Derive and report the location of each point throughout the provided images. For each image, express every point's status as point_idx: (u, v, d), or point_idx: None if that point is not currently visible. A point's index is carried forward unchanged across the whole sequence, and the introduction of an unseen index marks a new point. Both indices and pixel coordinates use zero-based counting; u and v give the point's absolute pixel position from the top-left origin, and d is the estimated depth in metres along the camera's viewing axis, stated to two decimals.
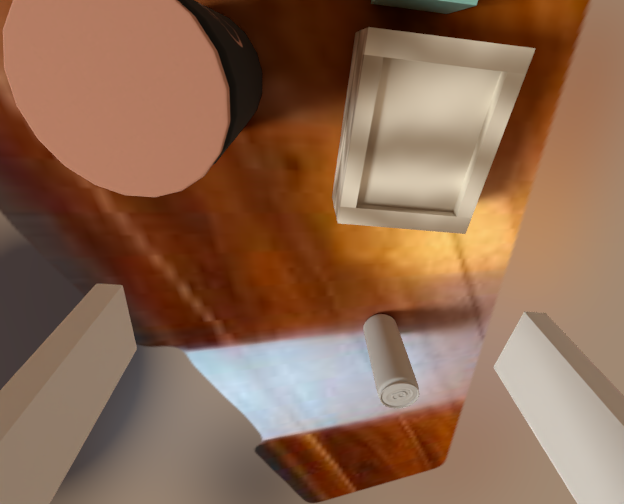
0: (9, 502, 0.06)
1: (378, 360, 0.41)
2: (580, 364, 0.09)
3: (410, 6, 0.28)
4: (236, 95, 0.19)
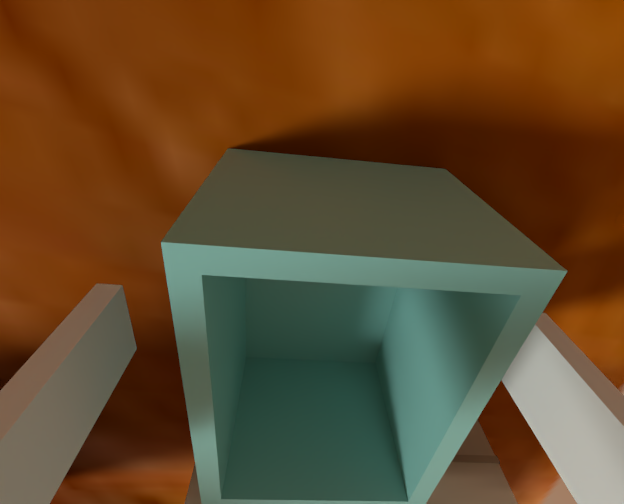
0: (9, 502, 0.06)
1: None
2: (580, 364, 0.09)
3: None
4: None
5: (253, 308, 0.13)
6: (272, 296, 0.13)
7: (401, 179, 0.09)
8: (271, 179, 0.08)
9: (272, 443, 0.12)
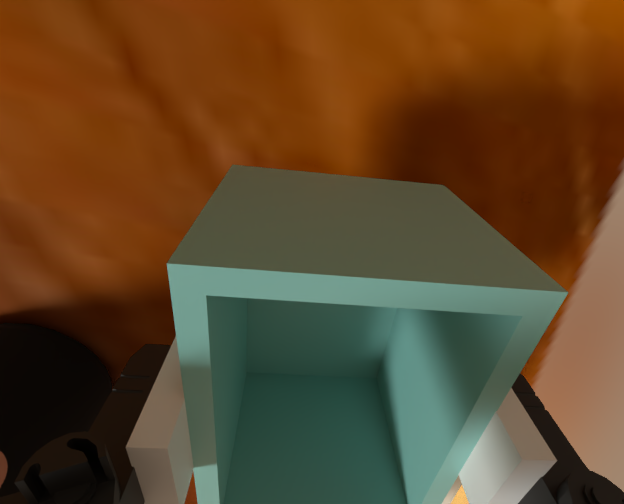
0: None
1: None
2: None
3: None
4: None
5: (254, 323, 0.13)
6: (273, 311, 0.13)
7: (402, 197, 0.10)
8: (274, 198, 0.08)
9: (272, 461, 0.11)
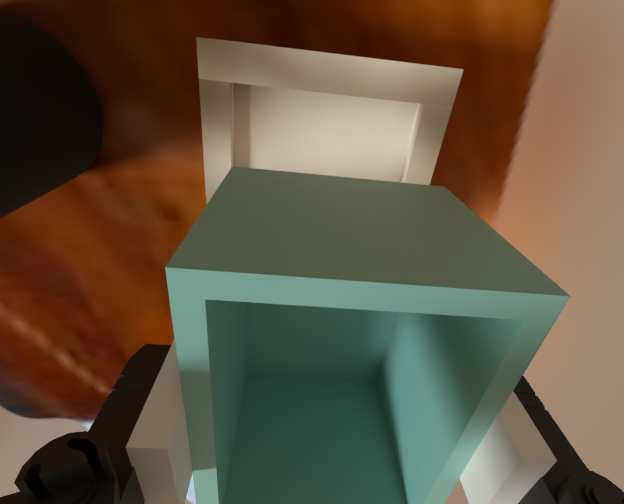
0: None
1: None
2: None
3: None
4: None
5: (254, 325, 0.13)
6: (273, 313, 0.13)
7: (403, 199, 0.10)
8: (274, 200, 0.08)
9: (272, 464, 0.11)
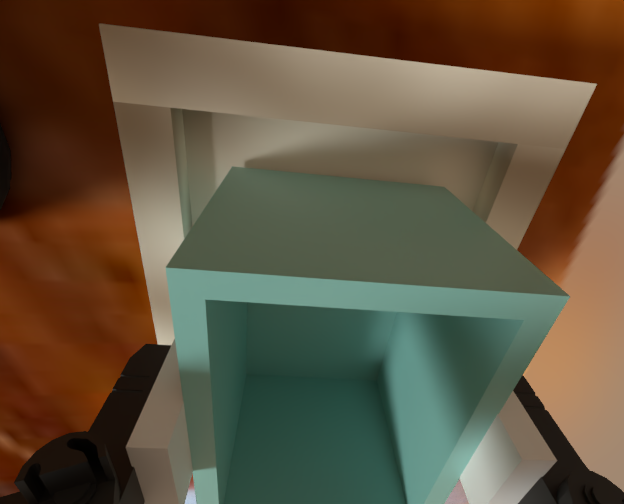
0: None
1: None
2: None
3: None
4: None
5: (254, 325, 0.13)
6: (273, 313, 0.13)
7: (402, 199, 0.10)
8: (274, 200, 0.08)
9: (272, 464, 0.11)
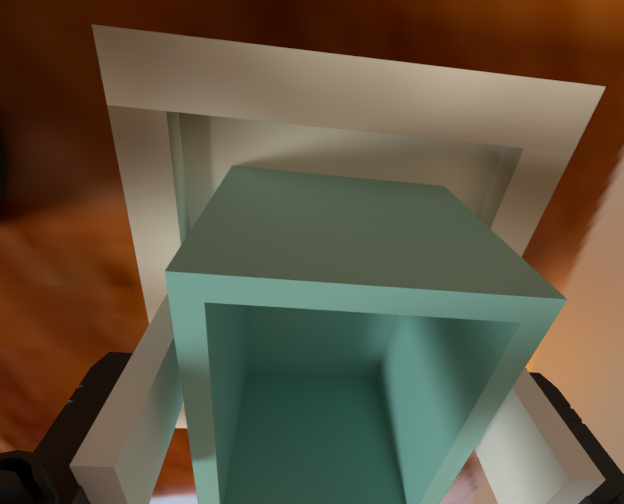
0: (154, 434, 0.08)
1: None
2: None
3: None
4: None
5: (254, 323, 0.13)
6: (273, 311, 0.13)
7: (402, 199, 0.10)
8: (273, 201, 0.08)
9: (272, 461, 0.12)
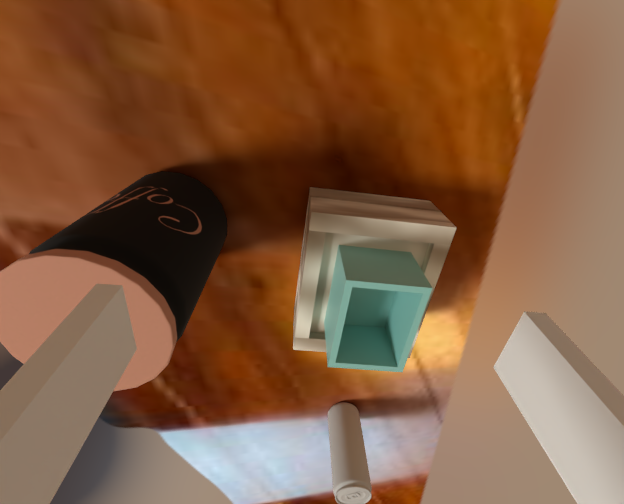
0: (9, 502, 0.06)
1: (336, 457, 0.44)
2: (580, 364, 0.09)
3: None
4: (185, 307, 0.23)
5: None
6: None
7: (396, 258, 0.30)
8: (358, 260, 0.29)
9: (348, 350, 0.32)
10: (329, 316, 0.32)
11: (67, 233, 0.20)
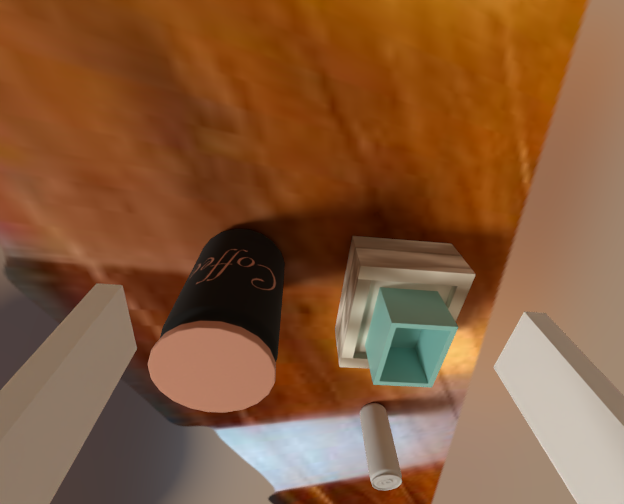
0: (9, 502, 0.06)
1: (370, 450, 0.53)
2: (580, 364, 0.09)
3: None
4: (277, 350, 0.31)
5: None
6: None
7: (427, 299, 0.38)
8: (398, 302, 0.37)
9: (388, 369, 0.40)
10: (372, 343, 0.40)
11: (198, 304, 0.28)
